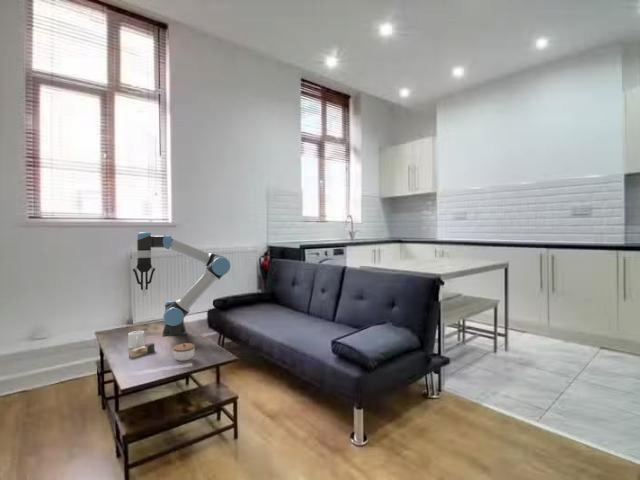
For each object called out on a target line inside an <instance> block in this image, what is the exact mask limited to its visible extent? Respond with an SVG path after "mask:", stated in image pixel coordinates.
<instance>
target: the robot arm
mask: <svg viewBox="0 0 640 480" xmlns="http://www.w3.org/2000/svg"><path fill="white" fill-rule="evenodd" d="M136 237H137V239H136V241H137V243H136V246H137V247H136V249H137V259H136V260H137V262H136V263H137V265H136V267H134V268H132V271H133V272H134V275H135V280H136V284H137V285H139V286H140V290H141V291H142V296H146V294H147V292H146V290H148V289H149V284H151V283H152V281H153V276H154V274H155V273H154V272H155V271H156V267H153V265H152V248H154V249H155V248H164V249H167V250H169V251H173V252H175V253H177V254H179V255H181V256H184V257H187V258H189V259H192V260H193V261H196V262H199V263H201V264H204V266H205V271H204V273H203V274H202V275H201V276H200V277H199V278H198V279H197V280H196V282H194V283H193V284H192V285H191V287H189V289H188V290H187V291H185V292H184V294H182V296H181V297H180V298H179V299H175V300H169V301H168V300H167V301H165V302H164V313H163V320H164V326H163V329H162V332H161V335H162V337H173V336H179V335H180V336H182V335H183V336H185V335H186V334H187V327H186V326H185V325H186V324H185V320H184V319H185V318H186V316H187V315H188V314H189V313H190V312H191V309H190V308H191V307H192V306H193V305H194V304H195V303H196V302H197V301H198V300H199V299H200V298H201V297H202V295H203V294H204V293H205V292H206V291H207V290H208V289H209V288H210V287H211V286H212V285H213V284H214V283H215V282H216V281H218V280H221V278H222V277H223V276H225V275H226V274H228V273H229V271H230V269H231V263H230V261H229V259H228V258H226V256H222V255H219V254H215V253H212V252H209V253H208V252H206V251H204V250H202V249H200V248H196V247H194V246H191V245H189V244H186V243H184V242H182V241H179V240H176V239H174V238H172V236H171V235H165V234H161V235H152V233H151V232H140V231H139V232H138V233H137V236H136ZM150 270H151V272H150V275H149V274H148V273H149V271H150ZM138 271H139V272H140V279H139V275H138ZM144 273H145V276H144ZM148 275H149V277H148ZM144 277H145V284H144Z"/></svg>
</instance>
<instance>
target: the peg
mask: <svg viewBox="0 0 640 480" xmlns="http://www.w3.org/2000/svg"><path fill="white" fill-rule="evenodd" d="M154 352H155V343H154V342H153V343H152V342H150V343H146V344H145V343H144V346H143V347H139V348H136V349H129V350H128V358H129V359H133V358H137V357H140V356H143V355H147V354H152V353H154Z"/></svg>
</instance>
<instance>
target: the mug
mask: <svg viewBox="0 0 640 480" xmlns="http://www.w3.org/2000/svg"><path fill="white" fill-rule="evenodd" d="M144 332H145V331H144V330H134V331H130V332H128V336H127V337H128V338H127V339H128V346H127V347H128V349H129V350H132V349H136V348H139V347H143V346H145V333H144Z"/></svg>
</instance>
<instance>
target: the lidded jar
mask: <svg viewBox="0 0 640 480" xmlns="http://www.w3.org/2000/svg"><path fill="white" fill-rule="evenodd" d="M195 346H196V345H195V344H194V343H190V342H189V343H188V342H187V343H186V342H184V343H180V344H176V345H175V346H174V347H173V356H174V358H175V360H176V361H180V362H182V361H189V360H192V359H193V357H194V355H195Z"/></svg>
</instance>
